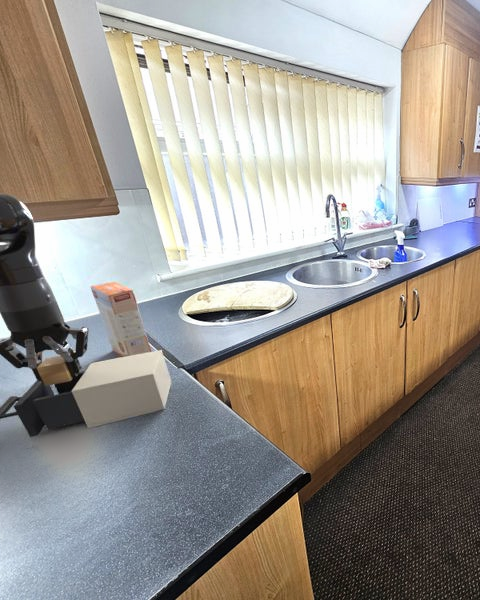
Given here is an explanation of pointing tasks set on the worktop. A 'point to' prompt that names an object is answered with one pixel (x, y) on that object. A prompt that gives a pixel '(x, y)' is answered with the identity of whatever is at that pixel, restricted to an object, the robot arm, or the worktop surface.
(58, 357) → the block
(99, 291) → the cracker box
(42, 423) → the dark grey drawer
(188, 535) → the worktop surface
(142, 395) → the cream rectangular box
